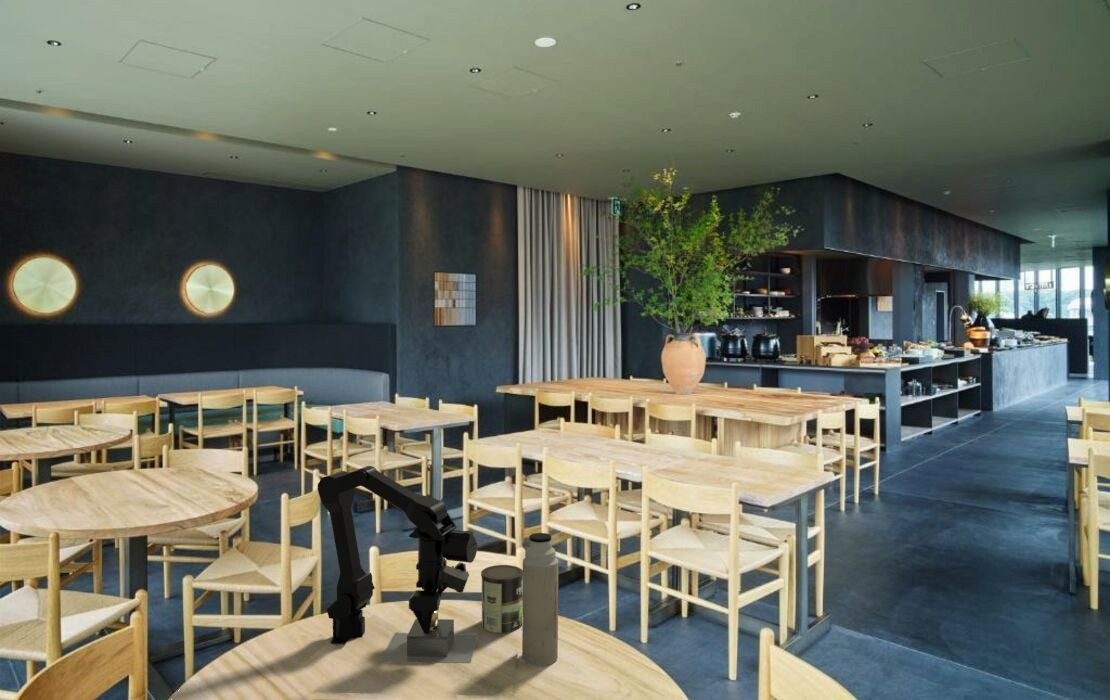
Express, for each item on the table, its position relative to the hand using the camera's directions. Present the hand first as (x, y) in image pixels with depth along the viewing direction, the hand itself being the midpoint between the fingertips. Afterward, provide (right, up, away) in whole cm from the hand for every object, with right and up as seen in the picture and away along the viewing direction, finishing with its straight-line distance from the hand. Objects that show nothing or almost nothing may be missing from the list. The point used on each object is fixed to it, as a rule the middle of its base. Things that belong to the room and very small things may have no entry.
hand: (430, 624), depth 163 cm
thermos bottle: (+25, -7, -2) cm, 26 cm away
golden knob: (0, -5, 0) cm, 5 cm away
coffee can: (+15, -6, +13) cm, 21 cm away
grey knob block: (0, -5, 0) cm, 5 cm away
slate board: (0, -6, 0) cm, 6 cm away
